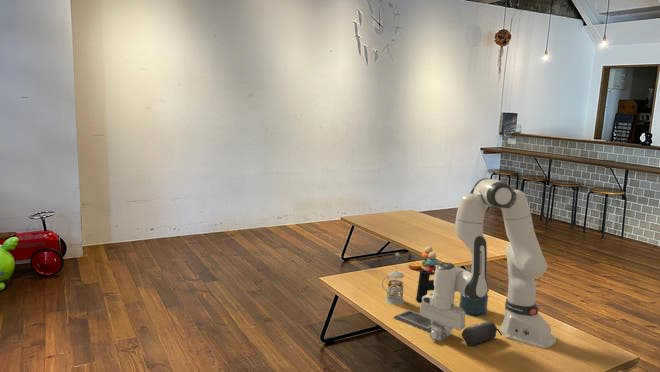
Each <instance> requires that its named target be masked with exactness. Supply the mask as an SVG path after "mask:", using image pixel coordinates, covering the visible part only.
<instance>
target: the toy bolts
mask: <svg viewBox="0 0 660 372" xmlns="http://www.w3.org/2000/svg"><path fill="white" fill-rule="evenodd" d="M421 257H422V258H425V259H423V260H422V262H421V263H420V262H416V261H415V262H414V261H412V262H408V264H407V265H408V268H409V269H411V270H421V268H422V266H423V265H424V270H426V271H429V272H430V273H433V271H434V272H435V270H436V267H437V266H438V265H439V262H438V260H437V254H436V252H435V251H434V250H433V248H432V247H431V246H425V248H424V251H423V252H422V253H421Z"/></svg>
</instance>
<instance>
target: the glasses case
mask: <svg viewBox="0 0 660 372" xmlns="http://www.w3.org/2000/svg"><path fill="white" fill-rule="evenodd" d="M499 329H500V328H498V327H497V326H496V324H495V323H494V322H493V321H486V322H480V323H475V324H473V325H470V326H467V327H464V328H463V329H462V332H461V337H462V339H463V340H464V342H465V344H466V345H468V346H475V345H478V344H480V343H483V342H485V341H489V340H491V339H492V340H493V339H495V338H496V335H497V332H498V333H499V335H500V336H503V333H502V331H501V330H499Z"/></svg>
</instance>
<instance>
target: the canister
mask: <svg viewBox="0 0 660 372" xmlns="http://www.w3.org/2000/svg"><path fill="white" fill-rule="evenodd" d="M488 292H490V289H489V288H488V291H487V294H486V295H485V296H484V297H483V298H482V299H480V300H477V301H473V300H471V299H469V298H468V297H466V296H465V295H463V294H461V293H460V299H459V306H458V307H461V308H462V309H463V310H464V311H465V315H467V316H473V317H482V316H485V315H487V312H488V299H489V295H488Z"/></svg>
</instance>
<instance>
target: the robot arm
mask: <svg viewBox="0 0 660 372" xmlns="http://www.w3.org/2000/svg"><path fill="white" fill-rule="evenodd" d="M489 207H494V208H497V209H500V210H501V213H502V219H503V222H504V229H505V233H506V236H507V239H508V241H509V243H508V244H507V245H506V248H505V256H506V260H507V261H506V263H507V274H508V286H507V287H508V290H507V298H506V299H505V304H504V306H505V308H504V309H505V312H504V317H503V321H502V324H501V325H500V328H499V329H500V332H501V333H502V334H504V337H505V338H506V339H509V340H512V341H516V342H520V343H521V344H522V343H523V344H527V345H529V346H533V347H537V348H539V349H546V348H547V349H548V348H550V347H552V346H553V345H555V344H556V342H557V337H556V336H555V335H554V334H552V328H551V325H550V324H549V323H548V321H546V319H544V317H543V316H541V314H539V310H540V308H541V306H540V305H538V306H537V304H536V302H535V301H536V291H537V284H536V279H535V278H539V277H541V276H543V275H544V274H545V272H546V271H547V268H548V263H547V261H546V258H545V257H544V255H543V251H542V248H541V246H540V244H539V243H540V242H539V240H538V238H537V235H536V233H535V228H534V223H533V218H532V213H531V209H530V208H531V207H530V205H529V201H528V200H527V197H526V194H525V193H524V192H523V191H522V190H520V189H513V188H512V187H511V186H510V185H509V184H508V183H507V182H504V181H501V180H499V179H495V178H489V177H485V178H482V179H479V180H478V181H476V183H475V184H474V185H473V187H472V189H471V191H470V192H469V193H467V194H464V195H463V196H462V197H461V199H460V200H459V203H458V208H457V210H456V214H455V215H456V217H455V222H454V230H455V234H456V236H457V238H459V241H461V242H462V243H463V244H464V245H465V246H466V247H467V248H468V250H469V252H470V254H471V272H470V271H469V270H467V269H464V268H463V267H458V266H456V265H455V264H454V263H452V262H441V263H438V264H437V265H436V266H435V267H436V270H435V271H434V274H433V275H434V276H433V280H434V290H432V293H427V295H425V296H423V297H422V301H423V302H420V306H419V314H420V315H421V316H423V317H425V318H428V319H431V320H430V322H431V324H432V325H433V324H435V321H436V322H438V323H441V324H443V325H446V326H447V328H448V330H446V331H445V335H447V336H448V335H450V331H451V329H452V330H457V331H463V330H464V329H465V328H466V319H465V317H466V314H465V311H464V310H463V309H462V308H461V307H459V306H457V305H455V293H456V292H458V293H461V294H463V295H465V296H466V297H468V298H469V299H471V300H473V301H477V300H480V299H482V298H483V297H484V296H485V295H486V294H487V291H488V289H489V283H488V276H487V273H488V272H487V269H488V268H487V267H488V266H487V265H488V255H487V254H488V248H487V247H488V246H487V240H486V238H485V235H484V227H483V226H484V217H485V213H486V211H487V209H488V208H489ZM488 292H489V291H488ZM461 294H460V295H461ZM450 336H451V335H450ZM448 337H449V336H448Z"/></svg>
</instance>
